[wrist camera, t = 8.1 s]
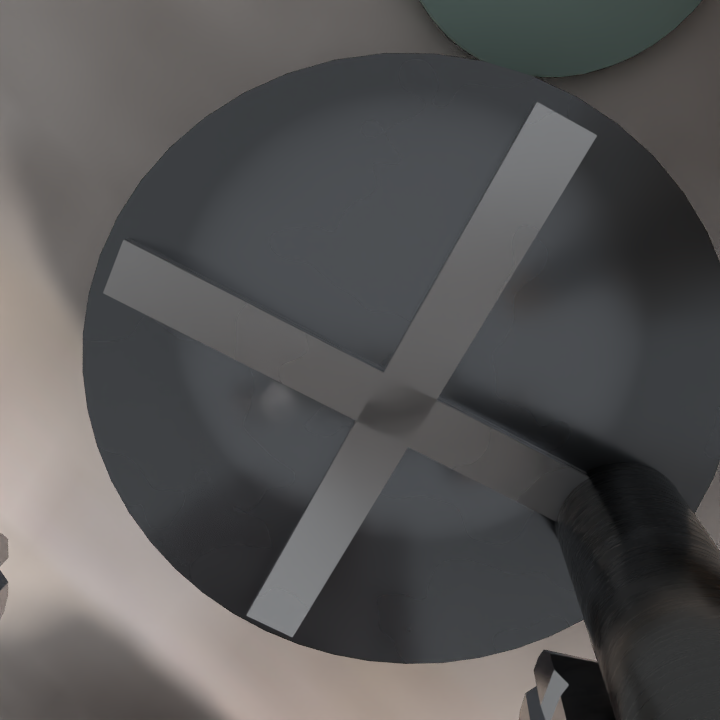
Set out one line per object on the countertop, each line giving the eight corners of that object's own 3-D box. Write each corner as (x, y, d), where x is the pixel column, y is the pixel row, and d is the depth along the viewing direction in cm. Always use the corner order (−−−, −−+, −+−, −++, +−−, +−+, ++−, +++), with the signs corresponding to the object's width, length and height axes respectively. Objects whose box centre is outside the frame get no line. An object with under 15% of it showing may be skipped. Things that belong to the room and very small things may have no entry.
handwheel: (42, 474, 13) (-268, 763, 7) (253, -72, 10) (-2, -363, 4) (501, 694, 14) (558, 1115, 8) (842, 257, 10) (1372, 432, 5)
